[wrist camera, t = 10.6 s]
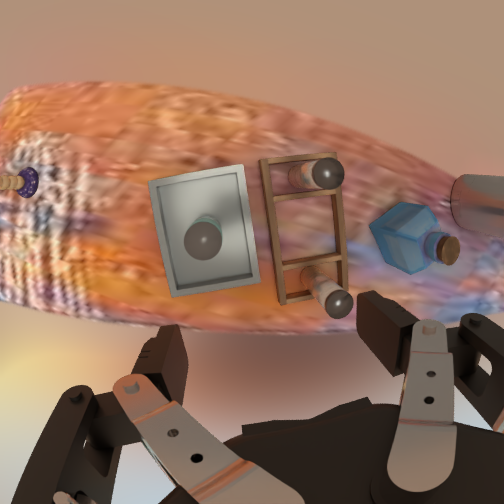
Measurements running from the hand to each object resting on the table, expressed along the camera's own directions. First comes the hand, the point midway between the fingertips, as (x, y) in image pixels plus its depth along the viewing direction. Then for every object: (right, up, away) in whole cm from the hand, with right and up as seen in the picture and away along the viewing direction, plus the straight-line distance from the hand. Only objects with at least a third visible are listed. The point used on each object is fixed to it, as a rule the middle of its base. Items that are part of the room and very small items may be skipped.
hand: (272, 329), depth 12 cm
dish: (-6, +6, +21) cm, 23 cm away
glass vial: (+5, +12, +21) cm, 25 cm away
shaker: (-6, +6, +21) cm, 22 cm away
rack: (+6, +6, +22) cm, 24 cm away
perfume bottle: (+19, +6, +24) cm, 31 cm away
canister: (+7, 0, +24) cm, 25 cm away
